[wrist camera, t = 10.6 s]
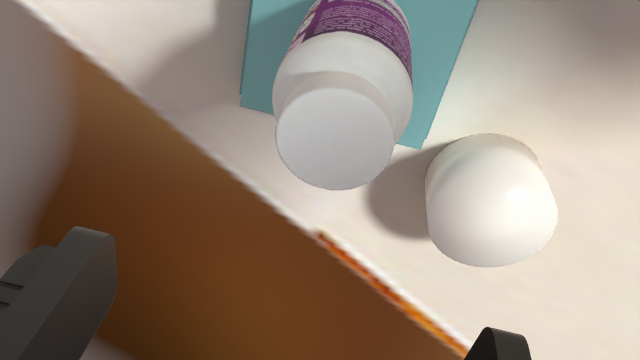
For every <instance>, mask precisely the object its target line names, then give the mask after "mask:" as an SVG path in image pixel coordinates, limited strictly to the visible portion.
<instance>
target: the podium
mask: <svg viewBox="0 0 640 360" xmlns="http://www.w3.org/2000/svg"><path fill="white" fill-rule="evenodd" d="M316 1H317V0H251V2H250V10H249V19H248V27H247V36H246V44H245V53H244V61H243V70H242V78H241V87H240V94H241V95H242V96H241V105H240V106H242V107H246V108H250V109H254V110H258V111H263V112H267V113H271V114H274V110H273V104H272V92H273V85H274V81H275V78H276V74H277V72H278V69H279V67H280V65H281V63H282V61H283V59H284V57H285V55H286V53H287V51H288V49H289V47H290V45H291V43H292V41H293V39H294V37H295V35H296V33H297V31H298V29H299V27H300V25H301V23H302V21H303V19H304V17H305V16H306V14H307V12H308V11H309V9H310V8H311V7H312V5H313V4H314V3H315V2H316ZM393 1H394V2H395V3H396V4H397V5H398V6H399V7H400V8H401V10H402V11H403V13H404V15H405V17H406V19H407V22H408V25H409V29H410V35H411V58H412V60H411V63H412V81H413V107H412V113H411V118H410V121H409V123H408V126H407V128H406V130H405V132H404V133H403V135H402V137H401V138H400V139H399V141H398V142H397V143H396V144H399V145H404V146H408V147H412V148H416V149H420V150H421V147H422V145H423V142H424V139H426V138H427V135H428V133H429V130H430V128H431V125H432V122H433V120H434V117H435V114H436V112H437V109H438V106H439V104H440V101H441V98H442V96H443V93H444V91H445V88H446V85H447V83H448V80H449V77H450V75H451V72H452V69H453V67H454V64H455V62H456V59H457V56H458V54H459V51H460V48H461V46H462V43H463V40H464V38H465V35H466V32H467V30H468V27H469V25H470V22H471V19H472V17H473V14H474V11H475V9H476V6H477V3H478V1H479V0H393Z"/></svg>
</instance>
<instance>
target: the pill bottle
mask: <svg viewBox="0 0 640 360" xmlns="http://www.w3.org/2000/svg"><path fill="white" fill-rule="evenodd" d="M411 60H412V58H411V35H410V29H409V25H408V22H407V19H406V17H405V15H404V13H403V11H402V10H401V8H400V7H399V6H398V5H397V4H396V3H395V2H394V1H393V0H317V1H316V2H315V3H314V4H313V5H312V7H311V8H310V9H309V11H308V12H307V14H306V16H305V17H304V19H303V21H302V23H301V25H300V27H299V29H298V31H297V33H296V35H295V37H294V39H293V41H292V43H291V45H290V47H289V49H288V51H287V53H286V55H285V57H284V59H283V61H282V63H281V65H280V67H279V69H278V72H277V74H276V78H275V81H274V85H273V92H272V104H273V110H274V115H275V118H276V121H277V125H276V131H275V140H276V146H277V150H278V152H279V155H280V157H281V159H282V161H283V162H284V164H285V165H286V166H287V167H288V169H289V170H290V171H291V172H292V173H293V174H294V175H296V176H297V177H298V178H300V179H301V180H303V181H304V182H306V183H308V184H311V185H313V186H316V187H319V188H324V189H328V190H347V189H353V188H356V187H359V186H362V185H364V184H366V183H368V182H370V181H372V180H373V179H374V178H376V177H377V176H378V175H379V174H380V173H381V172H382V171H383V170H384V168H385V167H386V165H387V164H388V162H389V160H390V157H391V155H392V151H393V146H394V145H395V144H396V143H397V142H398V141H399V139H400V138H401V137H402V135H403V133H404V132H405V130H406V128H407V126H408V123H409V121H410V118H411V113H412V107H413V81H412V63H411Z"/></svg>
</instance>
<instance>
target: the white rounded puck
mask: <svg viewBox="0 0 640 360" xmlns="http://www.w3.org/2000/svg"><path fill="white" fill-rule="evenodd" d="M425 196H426V210H427V225H428V231H429V234H430V237H431V239H432V241H433V243H434V244H435V245H436V247H437V248H438V249H439V250H440V251H441V252H442V253H443V254H445V255H446V256H448V257H449V258H451V259H453V260H455V261H457V262H460V263H462V264H466V265H470V266H475V267H500V266H505V265H510V264H513V263H516V262H519V261H521V260H524V259H526V258H528V257H530V256H531V255H533V254H534V253H536V252H537V251H538V250H540V249H541V248H542V247H543V246H544V245H545V244H546V243H547V242H548V240H549V239H550V238H551V236H552V234H553V232H554V230H555V228H556V225H557V219H558V210H557V205H556V202H555V200H554V197H553V195H552V193H551V190H550V188H549V185H548V183H547V180H546V178H545V175H544V173H543V171H542V168H541V166H540V163H539V161H538V159H537V157H536V156H535V154H534V153H533V152H532V150H531V149H530V148H528V147H527V146H526V145H525V144H523V143H522V142H520V141H518V140H516V139H514V138H512V137H508V136H505V135H500V134H477V135H471V136H468V137H464V138H462V139H459V140H457V141H455V142H453V143H451V144H449V145H448V146H446V147H445V148H444V149H443V150H441V151H440V152H439V153H438V154H437V155H436V156H435V158H434V159H433V160H432V162H431V163H430V165H429V167H428V169H427V173H426V177H425Z"/></svg>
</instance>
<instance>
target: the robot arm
mask: <svg viewBox="0 0 640 360" xmlns="http://www.w3.org/2000/svg"><path fill="white" fill-rule="evenodd" d="M116 287H117V273H116V253H115V239H114V236H113V235H112V234H108V233H104V232H99V231H95V230H91V229H87V228H83V227H79V226H76V227H74V228H72V229H71V230H70V231H69V232H68V233H67V234H66V236H65V237H64V238H63V239H62V240H61V242H60V243H59V244H58V245H57V247H56V248H54V247H50V246H46V245H41V246H39V247H37V248H36V249H34V250H32V251H31V252H29V253H27V254H26V255H24V256H23V257H21V258H19V259H18V260H16V261H15V263H14V264H13V265H12V266H11V267H10V268H9V269H8V271H7V272H6V273H5V274H4V275H3V277H2V278H1V279H0V360H79V359H80V358H81V356H82V354H83V353H84V351H85V349H86V348H87V346H88V344H89V343H90V341H91V339H92V337H93V336H94V334H95V332H96V331H97V329H98V328H99V326H100V324H101V322H102V321H103V319H104V318H105V316H106V314H107V312H108V311H109V309H110V307H111V304H112V302H113V299H114V296H115V292H116ZM464 360H531V356H530V351H529V347H528V344H527V341H526V339H525V337H524V336H522V335H519V334H515V333H511V332H507V331H503V330H499V329H495V328H490V327H486V328H484V329H483V330H482V332H481V333H480V335H479V336H478V338H477V340H476V341H475V343H474V344H473V346H472V348H471V349H470V351H469V352H468V354H467V356H466V357H465V359H464Z"/></svg>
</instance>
